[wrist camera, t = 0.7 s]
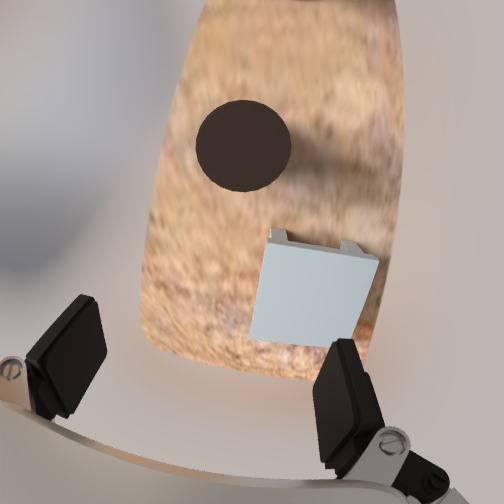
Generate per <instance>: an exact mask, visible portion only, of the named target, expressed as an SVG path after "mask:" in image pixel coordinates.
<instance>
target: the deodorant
mask: <svg viewBox="0 0 504 504" xmlns="http://www.w3.org/2000/svg"><path fill="white" fill-rule="evenodd" d="M290 150H291V141H290V135H289V131H288V129H287V127H286V125H285V123H284V121H283V120H282V119H281V117H280V116H279V115H278V114H277V113H276V112H275V111H274V110H272V109H271V108H269V107H268V106H266V105H264V104H261V103H258V102H255V101H249V100H238V101H232V102H228V103H226V104H224V105H221V106H219V107H217V108H216V109H215V110H214V111H212V112H211V113H210V114H209V115H208V116H207V117H206V119H205V120H204V121H203V123H202V124H201V126H200V129H199V132H198V135H197V138H196V153H197V158H198V162H199V164H200V166H201V168H202V170H203V172H204V173H205V174H206V175H207V176H208V177H209V179H210V180H211V181H213V182H214V183H216V184H217V185H219V186H220V187H222V188H225V189H228V190H231V191H237V192H249V191H255V190H259V189H261V188H263V187H265V186H268V185H269V184H270V183H272V182H273V181H274V180H276V179H277V178H278V177H279V175H280V174H281V173H282V172H283V170H284V169H285V167H286V165H287V162H288V160H289V157H290Z"/></svg>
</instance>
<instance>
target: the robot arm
mask: <svg viewBox="0 0 504 504" xmlns="http://www.w3.org/2000/svg"><path fill="white" fill-rule="evenodd" d="M106 355H107V347H106V343H105V338H104V333H103V329H102V324H101V319H100V314H99V309H98V303H97V302H96V301H95V299H94V298H93V297H90V296H87V295H83V294H80V295H79V296H78V297H77V298H76V299H75V300H74V301H73V302H72V303H71V304H70V306H69V307H68V308H67V309H66V310H65V311H64V312H63V313H62V314H61V315H60V316H59V317H58V318H57V320H56V321H55V322H54V323H53V324H52V325H51V326H50V327H49V329H48V330H47V331H46V332H45V333H44V334H43V336H42V337H41V338H40V339H39V341H37V343H36V344H35V345H34V346H33V348H32V349H31V350H30V351H29V352H28V354H27V355H26V359H25V361H24V360H23V359H21V358H20V357H18V356H9V357H6V358H4V359H3V360H1V362H0V504H469V503H468V502H467V501H466V500H465V499H464V498H463V496H462V495H461V494H460V493H459V492H458V491H457V490H456V489H455V488H452V489H450V488H449V485H450V481H449V477H448V475H447V473H446V472H445V471H444V470H443V469H441V468H440V467H438V466H436V465H435V464H433V463H431V462H429V461H428V460H426V459H424V458H422V457H421V456H419V455H417V454H416V453H414V452H412V451H411V450H410V440H409V437H408V436H407V434H406V433H405V432H404V431H402V430H401V429H399V428H396V427H385V423H384V420H383V417H382V413H381V411H380V407H379V404H378V401H377V397H376V394H375V391H374V388H373V385H372V382H371V379H370V376H369V374H368V373H367V372H364V369H363V366H362V363H361V360H360V357H359V354H358V351H357V348H356V345H355V342H354V340H353V339H347V338H338V339H337V341H333V342H332V344H331V346H330V349H329V351H328V353H327V356H326V358H325V361H324V363H323V365H322V368H321V370H320V372H319V374H318V377H317V379H316V381H315V384H314V386H313V401H314V408H315V417H316V425H317V434H318V442H319V452H320V460H321V462H322V463H325V469H335V474H336V475H337V476H336V477H335V478H334V479H328V480H325V479H324V480H323V479H322V480H321V479H320V480H289V479H264V478H252V477H241V476H232V475H224V474H218V473H211V472H205V471H199V470H194V469H189V468H184V467H178V466H175V465H170V464H166V463H162V462H158V461H154V460H151V459H147V458H144V457H140V456H137V455H134V454H130V453H127V452H124V451H121V450H118V449H115V448H113V447H110V446H107V445H104V444H102V443H99V442H96V441H94V440H91V439H89V438H87V437H84V436H82V435H79V434H77V433H75V432H72V431H70V430H68V429H66V428H63V427H62V426H59V425H57V424H56V423H55V419H54V418H55V416H56V414H57V415H59V416H61V417H63V418H65V419H68V417H69V415H70V414H73V413H74V412H75V410H76V408H77V407H78V405H79V403H80V401H81V399H82V398H83V396H84V394H85V392H86V390H87V389H88V387H89V385H90V383H91V382H92V380H93V378H94V376H95V375H96V373H97V371H98V370H99V368H100V366H101V364H102V363H103V361H104V359H105V358H106Z"/></svg>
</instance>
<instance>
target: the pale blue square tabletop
mask: <svg viewBox="0 0 504 504" xmlns="http://www.w3.org/2000/svg"><path fill="white" fill-rule="evenodd" d="M378 264H379V260H378V258H377V257H376V256H375V255H371V254H365V253H363V252H362V250H361V249H360V248H359V246H358V245H357V244H356V243H355V242H353V241H348V240H342V241H341V244H340V248H339V249H335V248H329V247H323V246H317V245H311V244H305V243H299V242H292V241H288V239H287V234H286V230H283V229H277V228H271V230H270V235H269V238H267V240H266V246H265V251H264V257H263V263H262V268H261V274H260V279H259V285H258V290H257V296H256V301H255V307H254V312H253V318H252V323H251V328H250V337H249V339H254V340H262V341H270V342H278V343H287V344H296V345H306V346H317V347H329V348H330V346H331V344H332V342H333V341H337V339H338V338H347V339H351V336H352V334H353V331H354V329H355V327H356V324H357V322H358V319H359V317H360V314H361V311H362V309H363V306H364V304H365V301H366V298H367V296H368V293H369V290H370V287H371V284H372V282H373V279H374V276H375V273H376V270H377V267H378Z"/></svg>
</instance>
